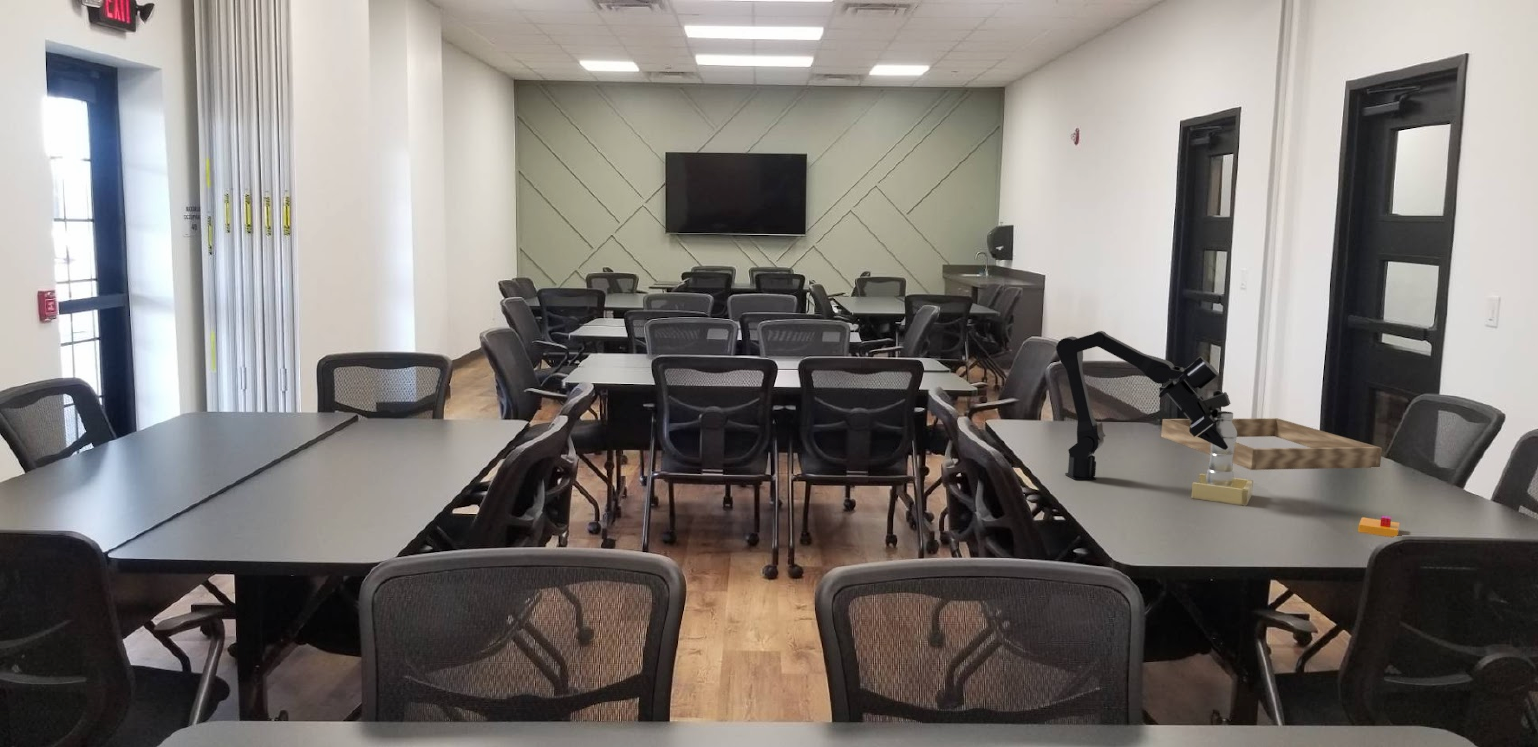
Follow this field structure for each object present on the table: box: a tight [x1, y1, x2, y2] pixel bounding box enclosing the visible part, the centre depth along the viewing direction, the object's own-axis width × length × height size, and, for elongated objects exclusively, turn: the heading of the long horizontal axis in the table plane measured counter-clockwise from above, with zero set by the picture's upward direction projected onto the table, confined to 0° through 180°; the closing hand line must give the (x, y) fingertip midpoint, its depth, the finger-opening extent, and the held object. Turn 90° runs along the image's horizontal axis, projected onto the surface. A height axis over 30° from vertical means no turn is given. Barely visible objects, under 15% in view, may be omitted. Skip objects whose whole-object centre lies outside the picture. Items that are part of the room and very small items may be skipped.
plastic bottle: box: [1205, 410, 1238, 487], centre depth 285 cm, size 6×7×20 cm
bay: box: [1190, 473, 1254, 507], centre depth 286 cm, size 13×13×4 cm
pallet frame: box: [1160, 417, 1383, 471], centre depth 348 cm, size 43×49×6 cm
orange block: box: [1357, 515, 1401, 538], centre depth 257 cm, size 8×8×4 cm
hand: (1228, 446), depth 285 cm, fingers closed on plastic bottle, 6 cm apart
